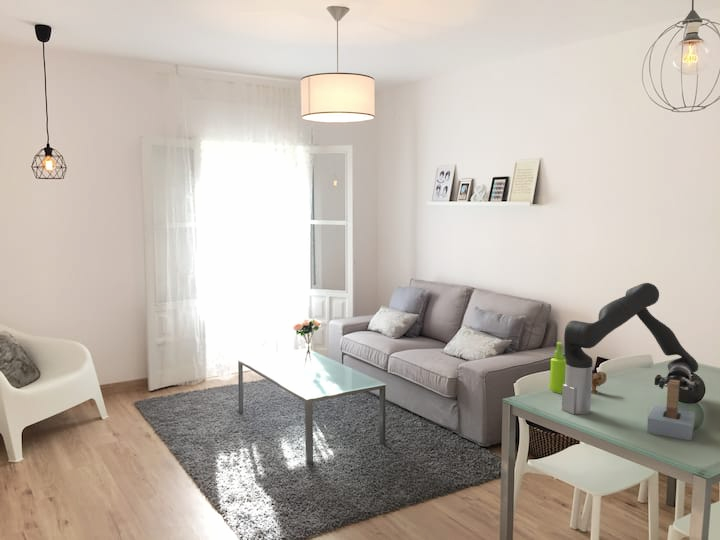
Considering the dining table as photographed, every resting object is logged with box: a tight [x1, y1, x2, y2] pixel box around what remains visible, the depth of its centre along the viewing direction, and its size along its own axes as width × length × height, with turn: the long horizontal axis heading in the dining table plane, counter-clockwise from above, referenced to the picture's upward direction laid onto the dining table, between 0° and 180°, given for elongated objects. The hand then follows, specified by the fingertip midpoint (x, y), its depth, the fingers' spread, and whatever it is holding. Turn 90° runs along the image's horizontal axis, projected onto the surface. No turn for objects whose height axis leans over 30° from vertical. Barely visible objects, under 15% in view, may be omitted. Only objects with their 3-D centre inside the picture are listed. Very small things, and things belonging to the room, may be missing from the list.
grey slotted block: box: [646, 404, 696, 441], centre depth 205 cm, size 15×13×5 cm
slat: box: [665, 380, 680, 419], centre depth 204 cm, size 5×3×16 cm, turn 147°
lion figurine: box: [591, 370, 607, 394], centre depth 247 cm, size 15×5×9 cm, turn 48°
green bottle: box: [549, 341, 566, 394], centre depth 246 cm, size 6×7×20 cm
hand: (675, 388), depth 211 cm, fingers open, 8 cm apart
